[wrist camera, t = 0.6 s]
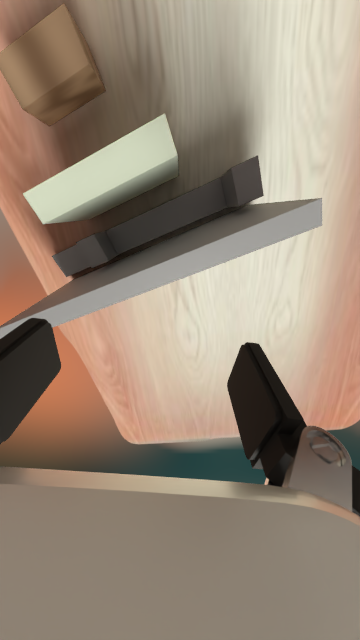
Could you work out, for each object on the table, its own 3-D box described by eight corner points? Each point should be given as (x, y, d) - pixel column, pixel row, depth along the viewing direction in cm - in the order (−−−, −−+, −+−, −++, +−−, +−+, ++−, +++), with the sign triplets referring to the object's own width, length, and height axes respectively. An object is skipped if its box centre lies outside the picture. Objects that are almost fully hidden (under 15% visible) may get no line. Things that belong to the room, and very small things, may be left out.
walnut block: (87, 43, 22) (64, 2, 18) (105, 90, 24) (89, 63, 20) (27, 85, 24) (-7, 57, 19) (49, 126, 26) (22, 109, 21)
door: (170, 147, 26) (162, 106, 16) (178, 175, 28) (177, 155, 18) (75, 196, 29) (19, 189, 19) (88, 219, 31) (43, 224, 21)
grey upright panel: (242, 167, 28) (321, 111, 12) (250, 218, 31) (322, 225, 15) (55, 254, 34) (-51, 291, 18) (79, 288, 37) (6, 344, 22)
